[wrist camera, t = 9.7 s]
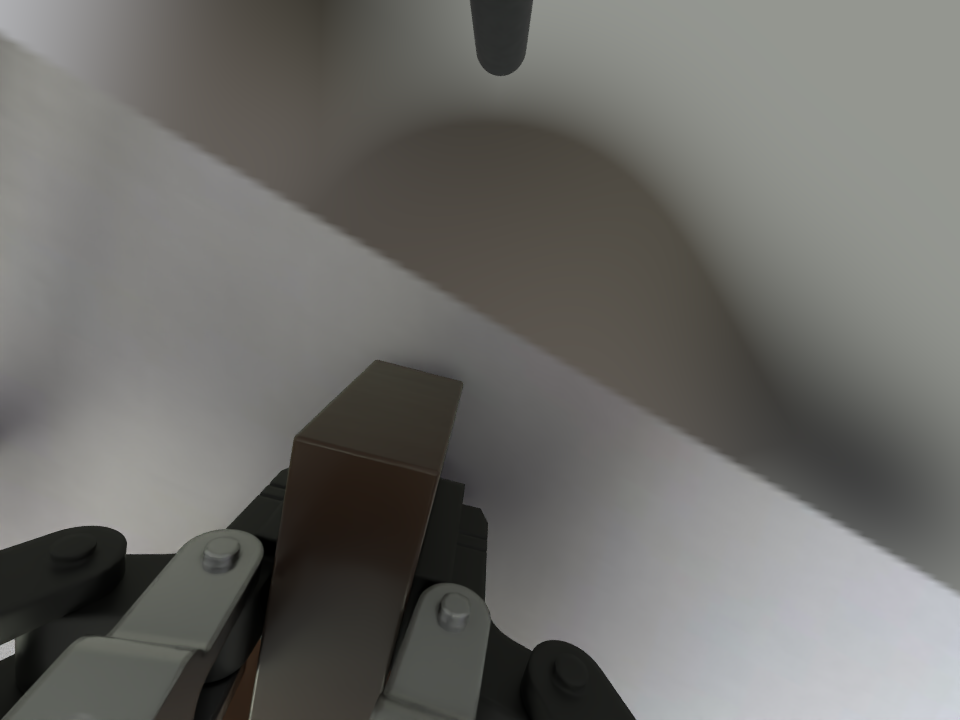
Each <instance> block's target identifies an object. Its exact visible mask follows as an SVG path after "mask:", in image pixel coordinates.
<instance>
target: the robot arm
mask: <svg viewBox="0 0 960 720" xmlns="http://www.w3.org/2000/svg"><path fill="white" fill-rule="evenodd" d="M288 471H289V468H287V469H285V470H282V471H281V472H280V473H279V474H278V475H277V476H276V477H275V478H274V479H273V480H272V481H271V482H270V485H268V486H267V487H266V488H265V489H264V490H263V491H262V492H261V494H260V496H259V495H258V496H257V497H256V498H255V499H254V500H253V501H252V502H251V503H250V504H249V505H248V507H247V508H246V509H245V510H244V511H243V512H242V513H241V514H240V515H239V516H238V517H237V518H236V519H235V520H234V521H233V522H232V523H231V524H230V525H229V526H228V527H227V529H222V530H215V531H210V532H207V533H203V534H201V535H199V536H196V537H195V538H193V539H191V540H190V541H188V542H187V543H186V544H185V545H184V546H183V547H182V548H181V549H180V550H179V551H178V552H177V553H175V554H126V548H127V542H126V538H125V537H124V536H123V535H122V534H121V533H120V532H118V531H116V530H114V529H111V528H108V527H102V526H81V527H74V528H69V529H64V530H61V531H57V532H54V533H51V534H48V535H45V536H42V537H39V538H36V539H33V540H30V541H27V542H24V543H21V544H18V545H15V546H12V547H9V548H6V549H3V550H0V645H2V644H4V643H6V642H8V641H10V640H13V639H15V654H14V655H11V656H9V657H7V658H5V659H3V660H1V661H0V720H223V718H224V716H225V714H226V712H227V709H228V707H229V705H230V703H231V701H232V699H233V696H234V694H235V692H236V690H237V688H238V686H239V684H240V681H241V679H242V677H243V675H244V672H245V668H246V662H247V659H248V657H249V656H250V654H251V652H252V651H253V649H254V647H255V646H256V644H257V642H258V641H259V639H261V638H262V632H263V626H264V620H265V614H266V607H267V601H268V595H269V589H270V583H271V576H272V570H273V564H274V558H275V552H276V546H277V539H278V533H279V527H280V521H281V515H282V509H283V502H284V496H285V490H286V484H287V478H288ZM464 490H465V484H462V483H458V482H454V481H450V480H446V479H442V478H440V479H439V483H438V486H437V490H436V494H435V498H434V502H433V506H432V510H431V513H430V517H429V521H428V525H427V529H426V533H425V536H424V540H423V544H422V548H421V552H420V556H419V560H418V563H417V567H416V571H415V575H414V579H413V583H412V586H411V590H410V594H409V598H408V602H407V606H406V610H405V613H404V617H403V621H402V625H401V629H400V633H399V636H398V640H397V644H396V648H395V652H394V656H393V660H392V663H391V667H390V671H391V673H390V676H389V679H388V681H387V684H386V687H385V689H384V692H383V693H380V695H379V696H378V699H377V701H376V703H375V706H374V708H373V711H372V713H371V716H370V718H369V720H636V719H635V717H634V716H633V715H632V713H631V712H630V710H629V709H628V707H627V706H626V704H625V703H624V702H623V700H622V699H621V697H620V696H619V694H618V693H617V692H616V690H615V689H614V687H613V686H612V684H611V683H610V682H609V680H608V679H607V677H606V676H605V674H604V673H603V671H602V670H601V669H600V667H599V666H598V665H597V663H596V662H595V661H594V660H593V659H592V658H591V657H590V656H589V655H588V654H587V653H585V652H584V651H583V650H581V649H580V648H578V647H576V646H574V645H572V644H570V643H567V642H564V641H559V640H549V641H545V642H542V643H540V644H538V645H537V646H536V647H535V648H534V649H533V651H531V650H529V649H527V648H526V647H524V646H522V645H520V644H518V643H517V642H515V641H513V640H512V639H510V638H508V637H507V636H506V635H504V634H503V633H502V632H501V631H500V630H499V629H498V628H497V627H496V626H495V625H494V623H493V622H492V620H491V617H490V612H489V610H488V607H487V605H486V604H485V581H486V558H487V553H486V551H487V534H488V522H487V520H486V518H485V516H484V514H483V513H482V511H481V509H480V508H476V507H472V506H468V505H464V504H463V497H464Z"/></svg>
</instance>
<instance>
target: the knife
mask: <svg viewBox="0 0 960 720" xmlns="http://www.w3.org/2000/svg"><path fill="white" fill-rule="evenodd" d="M462 388H463V382H461V381H458V380H454V379H450V378H446V377H442V376H438V375H434V374H431V373H427V372H423V371H419V370H415V369H411V368H407V367H403V366H399V365H396V364H392V363H388V362H384V361H380V360H375V361H374V362H373V363H372V364H371V365H370V366H369V367H368V368H367V369H365V370H364V371H363V372H362V373H361V374H360V375H359V376H358V377H357V378H356V379H355V380H354V381H353V382H352V383H351V384H350V385H349V386H348V387H346V388H345V389H344V390H343V391H342V392H341V393H340V394H339V395H338V396H337V397H336V398H335V399H334V400H333V401H332V402H331V403H330V404H329V405H327V406H326V407H325V408H324V409H323V410H322V411H321V412H320V413H319V414H318V415H317V416H316V417H315V418H314V419H313V420H312V421H311V422H309V423H308V424H307V425H306V426H305V427H304V428H303V429H302V430H301V431H300V432H299V433H298V434H297V435H296V436H295V437H294V441H293V447H292V453H291V459H290V465H289V471H288V478H287V484H286V490H285V496H284V502H283V509H282V515H281V521H280V527H279V533H278V539H277V546H276V552H275V558H274V564H273V570H272V576H271V583H270V589H269V595H268V601H267V607H266V614H265V620H264V626H263V632H262V638H261V644H260V651H259V657H258V663H257V669H256V675H255V681H254V688H253V694H252V700H251V706H250V712H249V718H248V720H369V718H370V716H371V713H372V711H373V708H374V706H375V703H376V701H377V699H378V696H379V695H380V693H383V692H384V689H385V686H386V683H387V679H388V675H389V671H390V667H391V663H392V660H393V656H394V652H395V648H396V644H397V640H398V636H399V633H400V629H401V625H402V621H403V617H404V613H405V610H406V606H407V602H408V598H409V594H410V590H411V586H412V583H413V579H414V575H415V571H416V567H417V563H418V560H419V556H420V552H421V548H422V544H423V540H424V536H425V533H426V529H427V525H428V521H429V517H430V513H431V510H432V506H433V502H434V498H435V494H436V490H437V486H438V483H439V479H440V475H441V471H442V467H443V463H444V459H445V455H446V451H447V447H448V443H449V439H450V436H451V432H452V428H453V424H454V420H455V416H456V412H457V408H458V404H459V400H460V396H461V392H462Z"/></svg>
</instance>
